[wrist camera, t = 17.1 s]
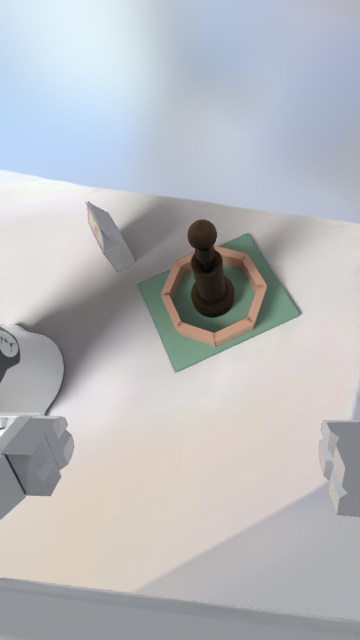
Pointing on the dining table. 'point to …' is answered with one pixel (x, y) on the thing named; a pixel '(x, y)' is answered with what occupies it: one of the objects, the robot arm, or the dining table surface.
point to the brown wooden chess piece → (208, 273)
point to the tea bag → (109, 238)
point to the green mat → (191, 351)
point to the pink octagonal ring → (230, 332)
